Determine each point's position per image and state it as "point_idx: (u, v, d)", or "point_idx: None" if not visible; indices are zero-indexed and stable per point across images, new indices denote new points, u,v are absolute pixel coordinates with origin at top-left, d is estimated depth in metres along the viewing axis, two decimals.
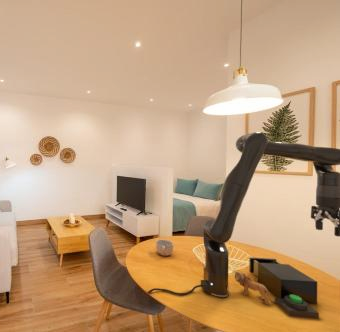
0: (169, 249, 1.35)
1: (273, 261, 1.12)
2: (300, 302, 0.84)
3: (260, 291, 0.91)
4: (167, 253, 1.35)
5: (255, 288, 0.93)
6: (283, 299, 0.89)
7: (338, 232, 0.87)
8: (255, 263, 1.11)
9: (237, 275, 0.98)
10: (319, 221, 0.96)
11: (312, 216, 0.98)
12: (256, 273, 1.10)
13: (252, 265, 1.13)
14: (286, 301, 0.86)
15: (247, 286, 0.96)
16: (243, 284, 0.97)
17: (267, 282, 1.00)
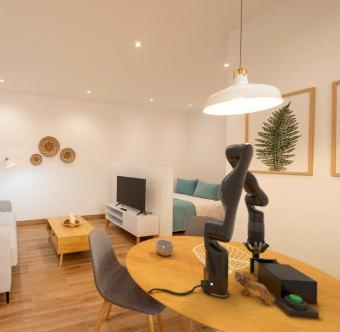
0: (169, 249, 1.35)
1: (273, 261, 1.12)
2: (300, 302, 0.84)
3: (260, 291, 0.91)
4: (167, 253, 1.35)
5: (255, 288, 0.93)
6: (283, 299, 0.89)
7: None
8: (255, 263, 1.10)
9: (237, 275, 0.98)
10: None
11: None
12: (256, 273, 1.09)
13: (252, 265, 1.13)
14: (286, 301, 0.86)
15: (247, 286, 0.96)
16: (243, 284, 0.97)
17: (267, 282, 1.00)
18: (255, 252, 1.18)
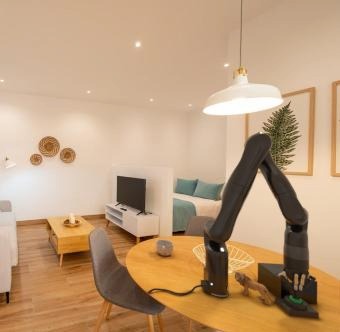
0: (169, 249, 1.35)
1: None
2: (300, 303, 0.84)
3: (260, 291, 0.91)
4: (167, 253, 1.35)
5: (255, 288, 0.93)
6: (283, 299, 0.89)
7: None
8: None
9: (237, 275, 0.98)
10: None
11: None
12: None
13: None
14: (286, 301, 0.86)
15: (247, 286, 0.96)
16: (243, 284, 0.97)
17: (267, 282, 1.00)
18: (295, 288, 0.85)
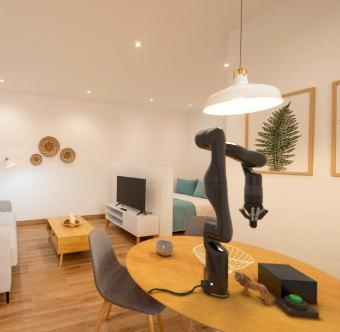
0: (169, 249, 1.35)
1: None
2: (300, 302, 0.84)
3: (260, 291, 0.91)
4: (167, 253, 1.35)
5: (255, 288, 0.93)
6: (283, 299, 0.89)
7: None
8: None
9: (237, 275, 0.98)
10: None
11: None
12: None
13: None
14: (286, 301, 0.86)
15: (247, 286, 0.96)
16: (243, 284, 0.97)
17: (267, 282, 1.00)
18: (252, 219, 1.06)
